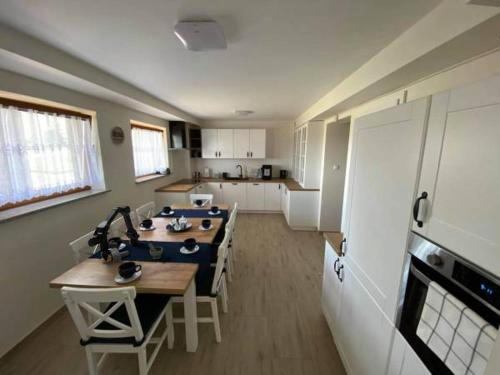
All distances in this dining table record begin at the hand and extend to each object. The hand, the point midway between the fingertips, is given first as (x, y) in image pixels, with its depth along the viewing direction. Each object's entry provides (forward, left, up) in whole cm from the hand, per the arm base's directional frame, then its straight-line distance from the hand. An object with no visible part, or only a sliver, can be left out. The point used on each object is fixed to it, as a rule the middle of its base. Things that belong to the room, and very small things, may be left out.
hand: (105, 259), depth 165 cm
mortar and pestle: (-32, +20, -2) cm, 37 cm away
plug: (-6, 0, -1) cm, 7 cm away
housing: (-7, 0, -1) cm, 7 cm away
